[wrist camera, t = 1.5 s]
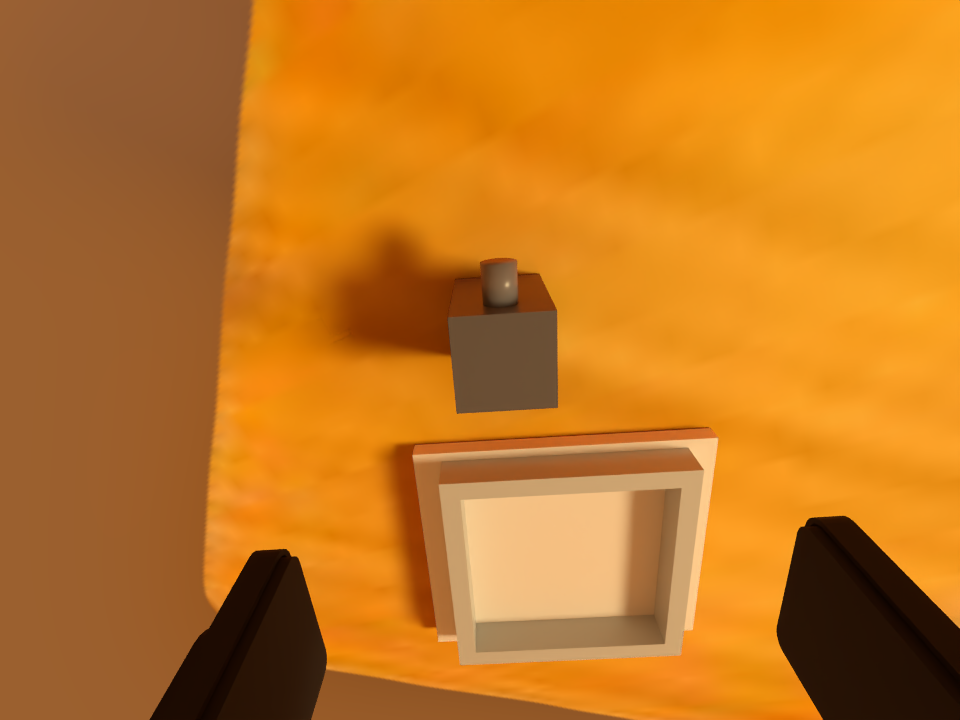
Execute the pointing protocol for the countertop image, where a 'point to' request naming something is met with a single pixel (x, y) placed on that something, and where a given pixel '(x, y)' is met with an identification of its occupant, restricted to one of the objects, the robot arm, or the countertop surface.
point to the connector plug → (503, 341)
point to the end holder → (566, 543)
